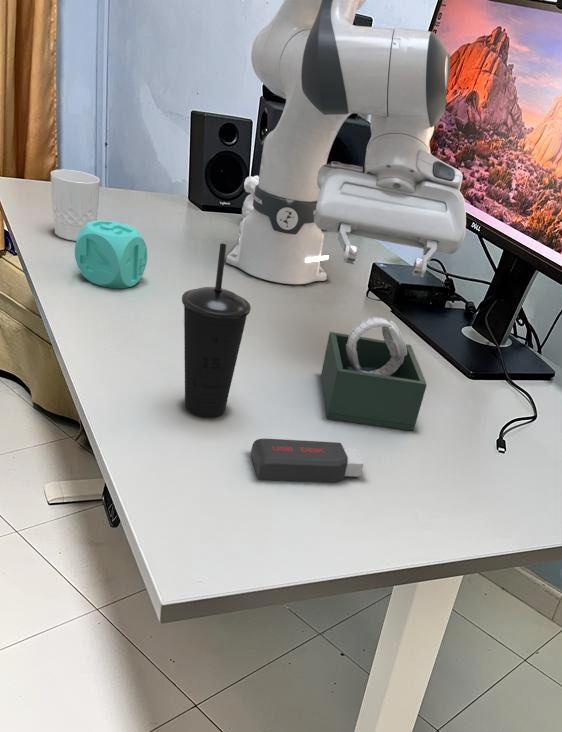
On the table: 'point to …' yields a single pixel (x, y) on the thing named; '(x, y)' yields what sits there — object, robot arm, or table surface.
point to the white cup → (73, 201)
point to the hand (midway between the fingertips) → (384, 268)
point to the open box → (371, 385)
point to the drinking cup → (211, 344)
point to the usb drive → (304, 460)
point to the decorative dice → (111, 254)
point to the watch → (392, 341)
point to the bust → (249, 187)
